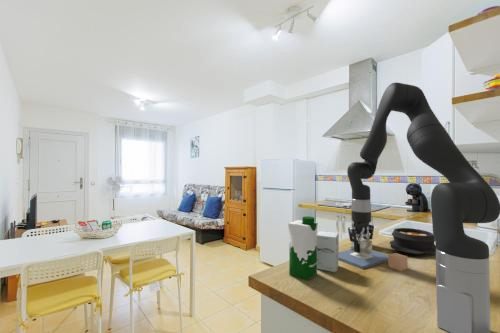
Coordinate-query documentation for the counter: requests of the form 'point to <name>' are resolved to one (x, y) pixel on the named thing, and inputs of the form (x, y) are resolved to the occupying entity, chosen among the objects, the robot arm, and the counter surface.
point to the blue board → (362, 258)
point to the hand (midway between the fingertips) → (361, 250)
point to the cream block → (363, 246)
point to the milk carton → (303, 248)
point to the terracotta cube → (397, 261)
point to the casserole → (413, 241)
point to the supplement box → (327, 251)
